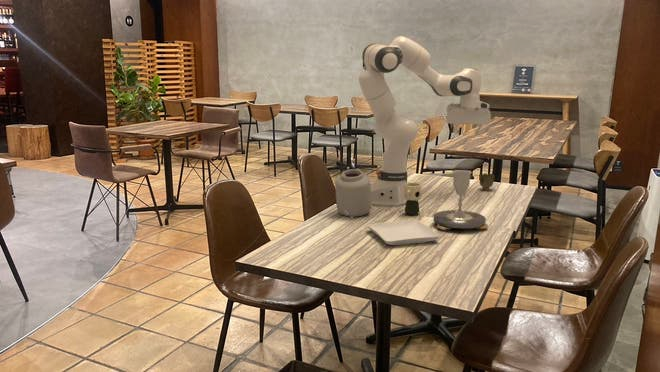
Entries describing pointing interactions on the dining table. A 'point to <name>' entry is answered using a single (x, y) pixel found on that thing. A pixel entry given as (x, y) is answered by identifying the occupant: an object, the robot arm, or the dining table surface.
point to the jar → (353, 193)
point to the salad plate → (403, 232)
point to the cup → (486, 181)
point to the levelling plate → (459, 220)
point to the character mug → (412, 197)
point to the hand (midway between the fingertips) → (467, 133)
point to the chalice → (461, 188)
